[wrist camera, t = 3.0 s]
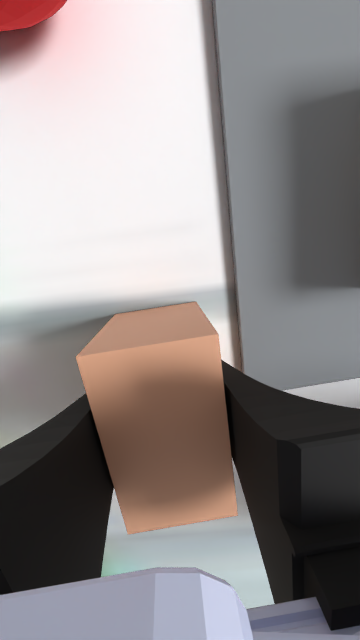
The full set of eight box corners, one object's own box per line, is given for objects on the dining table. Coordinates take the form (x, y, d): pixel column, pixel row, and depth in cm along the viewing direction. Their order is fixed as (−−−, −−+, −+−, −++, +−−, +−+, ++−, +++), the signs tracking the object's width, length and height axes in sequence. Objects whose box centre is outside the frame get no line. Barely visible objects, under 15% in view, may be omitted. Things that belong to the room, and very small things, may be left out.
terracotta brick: (211, 420, 13) (237, 515, 8) (142, 431, 13) (128, 534, 8) (195, 301, 11) (218, 334, 6) (115, 314, 11) (75, 356, 6)
